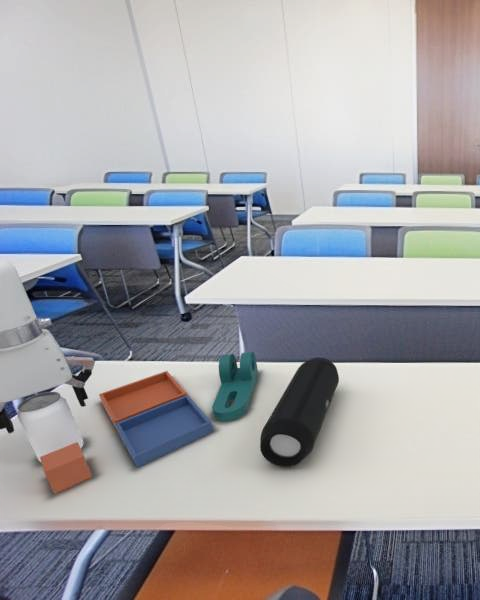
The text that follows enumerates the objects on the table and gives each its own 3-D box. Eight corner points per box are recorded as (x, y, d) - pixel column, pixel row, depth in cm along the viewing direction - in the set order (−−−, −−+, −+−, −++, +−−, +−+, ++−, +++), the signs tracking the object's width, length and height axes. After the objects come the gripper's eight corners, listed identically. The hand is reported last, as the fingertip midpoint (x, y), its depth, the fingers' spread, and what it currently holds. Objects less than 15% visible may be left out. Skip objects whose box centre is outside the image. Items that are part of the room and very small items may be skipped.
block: (54, 494, 68) (44, 472, 66) (50, 478, 71) (39, 456, 69) (92, 477, 71) (83, 455, 69) (86, 462, 74) (77, 441, 72)
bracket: (229, 376, 101) (223, 349, 98) (258, 373, 103) (253, 346, 100) (210, 423, 85) (202, 393, 82) (244, 418, 87) (238, 389, 84)
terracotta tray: (117, 431, 82) (113, 421, 81) (102, 403, 90) (98, 394, 89) (188, 402, 91) (186, 393, 90) (169, 379, 99) (167, 370, 98)
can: (71, 436, 80) (50, 386, 75) (92, 445, 78) (71, 395, 73) (30, 458, 75) (5, 406, 70) (51, 469, 73) (26, 416, 68)
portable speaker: (312, 471, 75) (307, 429, 71) (259, 470, 74) (250, 428, 70) (342, 389, 98) (339, 354, 94) (301, 388, 98) (297, 353, 94)
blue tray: (137, 467, 74) (133, 457, 73) (118, 433, 81) (114, 423, 80) (213, 431, 83) (211, 422, 82) (190, 403, 91) (187, 394, 90)
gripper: (73, 311, 74) (103, 386, 81) (-72, 344, 62) (-23, 430, 69) (81, 323, 70) (112, 402, 77) (-73, 362, 58) (-21, 452, 65)
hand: (48, 415), depth 73 cm, fingers open, 9 cm apart
